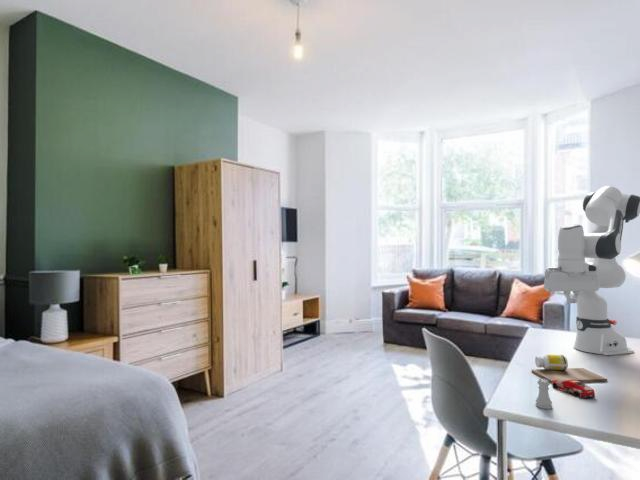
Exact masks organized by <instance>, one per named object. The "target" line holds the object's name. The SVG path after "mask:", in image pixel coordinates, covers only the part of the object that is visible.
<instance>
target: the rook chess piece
mask: <svg viewBox="0 0 640 480" xmlns="http://www.w3.org/2000/svg"><path fill="white" fill-rule="evenodd" d="M537 384H538V385H539V386H538V396H537V397H536V399H535V406H536V407H537V408H540V409H542V410H550V409H553V405H552V404H553V402H552V400H551V398H550V396H549V390H550V388H549V386H550V385H551V383H550V382H548V380H547V379H546V380H545V379H543V378H541V377H539V378H538V381H537Z"/></svg>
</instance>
